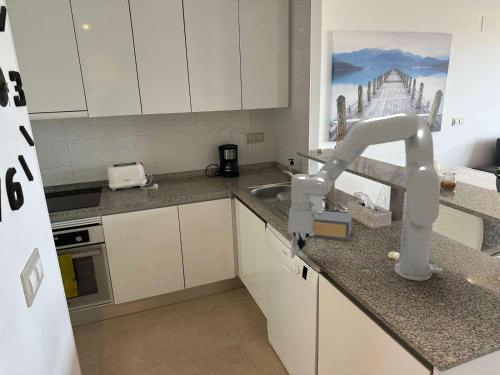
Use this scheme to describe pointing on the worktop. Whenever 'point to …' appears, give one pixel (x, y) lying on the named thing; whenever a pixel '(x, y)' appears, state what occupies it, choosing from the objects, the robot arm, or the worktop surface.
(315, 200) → the milk carton
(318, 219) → the cabinet with open door
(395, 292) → the worktop surface
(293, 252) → the side door
